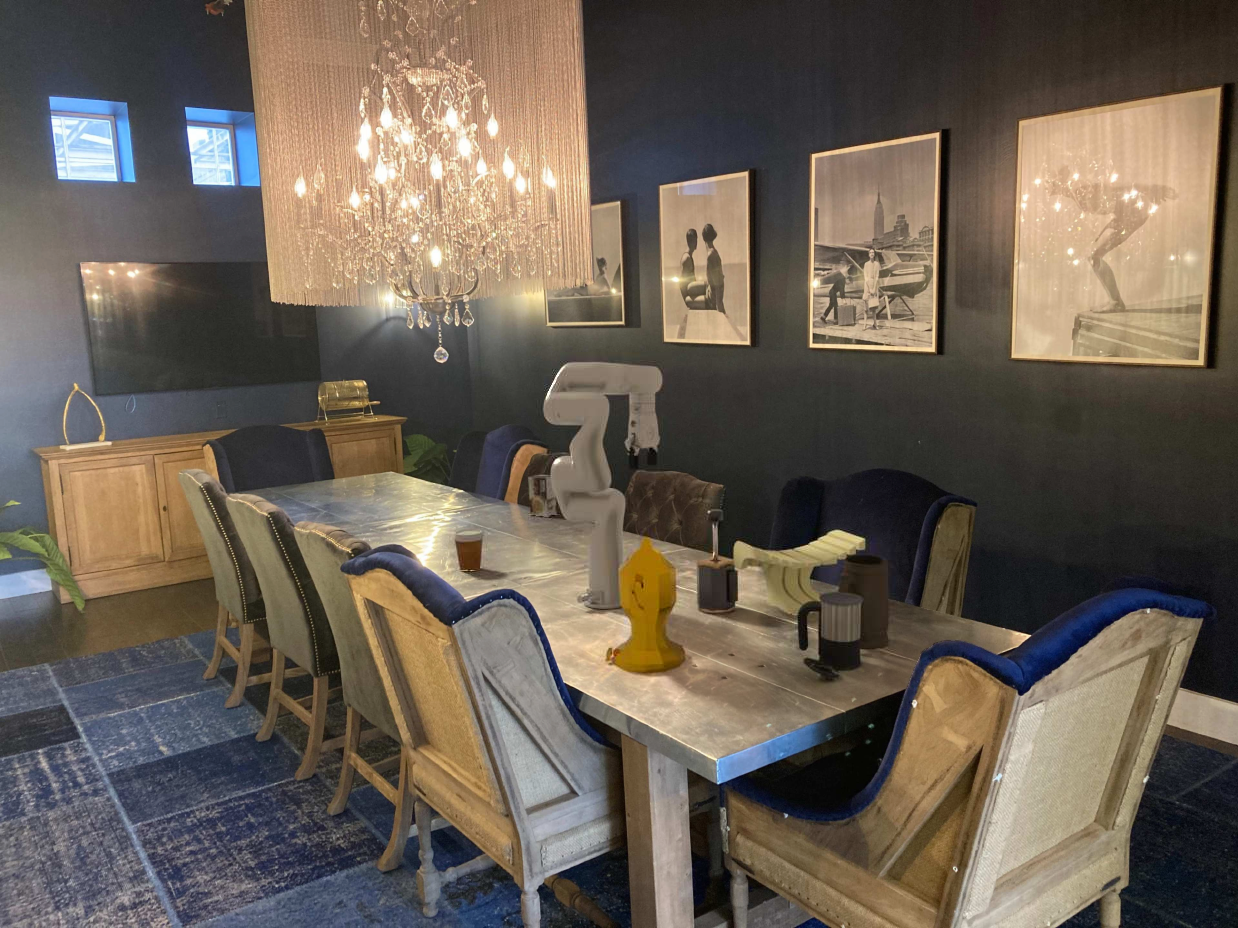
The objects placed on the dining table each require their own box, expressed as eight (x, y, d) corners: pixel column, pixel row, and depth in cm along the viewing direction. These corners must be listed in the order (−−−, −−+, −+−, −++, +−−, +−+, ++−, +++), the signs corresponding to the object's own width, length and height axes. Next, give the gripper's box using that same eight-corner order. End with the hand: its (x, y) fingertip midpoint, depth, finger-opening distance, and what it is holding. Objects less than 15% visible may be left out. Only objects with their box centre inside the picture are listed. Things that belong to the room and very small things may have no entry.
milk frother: (855, 655, 214) (856, 590, 212) (876, 680, 198) (877, 611, 196) (792, 657, 214) (792, 593, 211) (808, 683, 198) (808, 614, 196)
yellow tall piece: (598, 678, 204) (594, 549, 200) (616, 641, 228) (612, 525, 224) (681, 680, 202) (678, 550, 198) (689, 642, 226) (687, 525, 222)
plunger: (718, 572, 246) (717, 514, 244) (698, 569, 250) (697, 511, 248) (732, 567, 251) (732, 510, 248) (713, 564, 255) (712, 507, 253)
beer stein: (855, 630, 231) (852, 550, 227) (897, 638, 224) (896, 555, 220) (825, 651, 220) (822, 568, 216) (869, 660, 213) (867, 574, 209)
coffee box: (557, 514, 387) (555, 475, 384) (547, 517, 381) (546, 477, 379) (539, 513, 391) (537, 474, 389) (529, 515, 386) (527, 476, 384)
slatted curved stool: (831, 590, 266) (831, 527, 264) (864, 605, 251) (865, 538, 249) (734, 603, 256) (733, 538, 254) (762, 619, 241) (762, 550, 239)
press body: (724, 617, 244) (724, 567, 242) (690, 609, 252) (689, 561, 250) (746, 608, 251) (745, 560, 250) (712, 601, 259) (711, 554, 257)
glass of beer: (448, 571, 299) (446, 534, 298) (467, 564, 308) (465, 528, 306) (473, 574, 295) (471, 536, 293) (491, 567, 303) (489, 530, 302)
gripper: (636, 411, 273) (637, 470, 275) (668, 407, 287) (669, 464, 289) (615, 410, 277) (616, 469, 279) (647, 407, 291) (648, 463, 293)
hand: (643, 466), depth 284 cm, fingers open, 9 cm apart
